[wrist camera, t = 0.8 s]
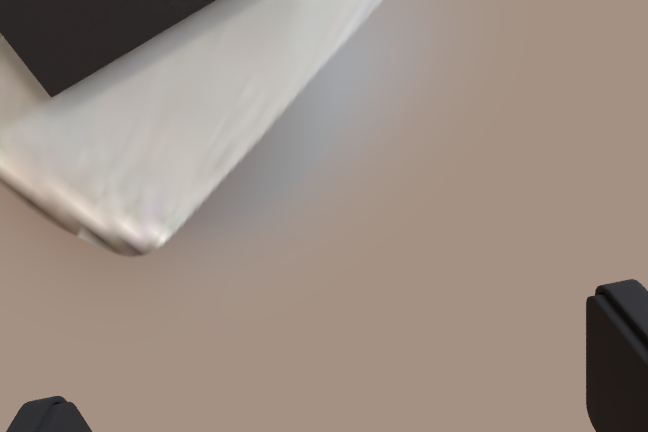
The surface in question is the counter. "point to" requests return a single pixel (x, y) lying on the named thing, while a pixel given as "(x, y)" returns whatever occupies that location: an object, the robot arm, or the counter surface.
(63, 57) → the sink plate
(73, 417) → the robot arm
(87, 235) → the counter surface
